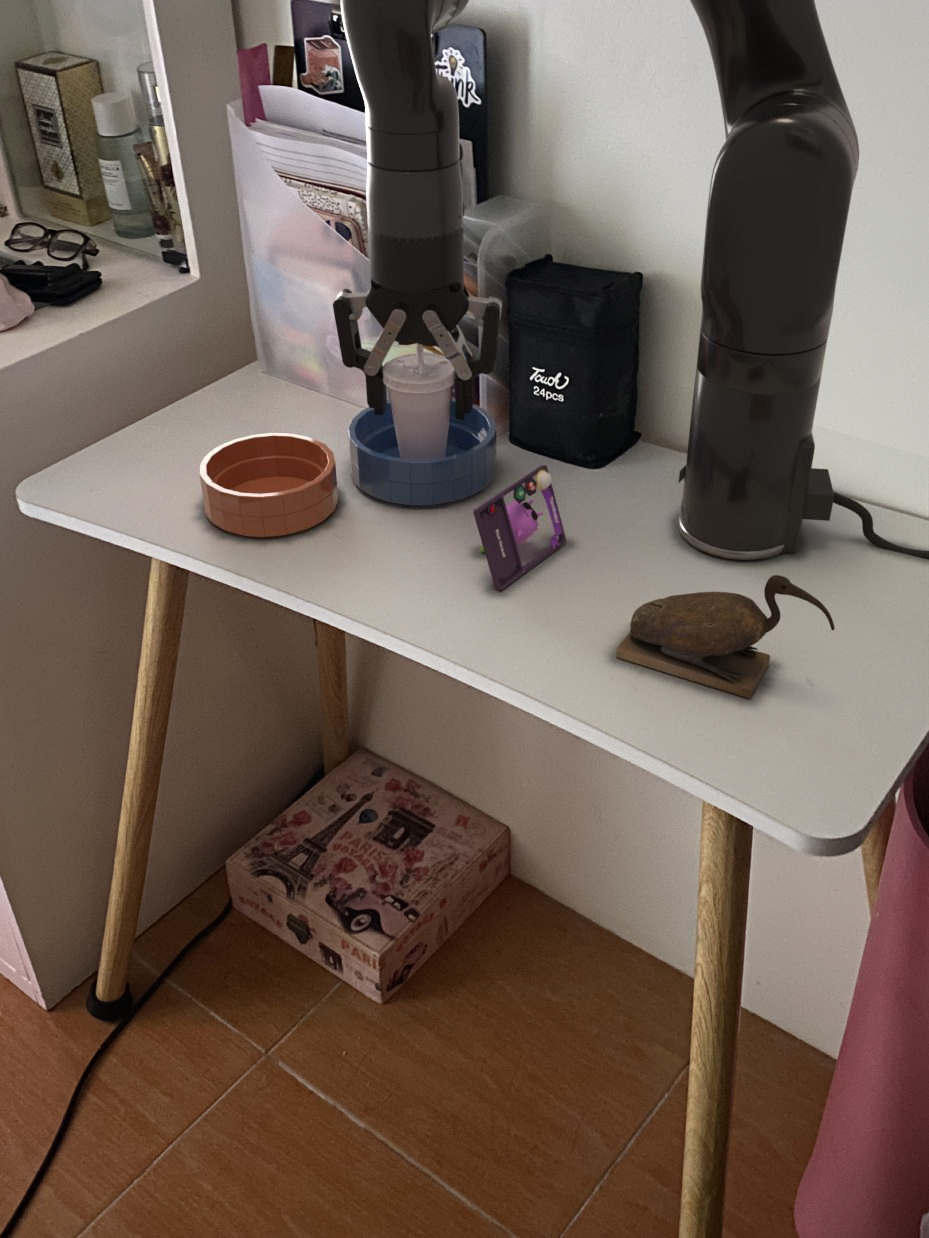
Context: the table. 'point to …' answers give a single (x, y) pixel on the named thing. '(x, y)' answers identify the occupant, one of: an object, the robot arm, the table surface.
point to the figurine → (709, 635)
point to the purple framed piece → (516, 527)
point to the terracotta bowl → (269, 484)
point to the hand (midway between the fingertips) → (421, 412)
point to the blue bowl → (422, 478)
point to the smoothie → (420, 402)
